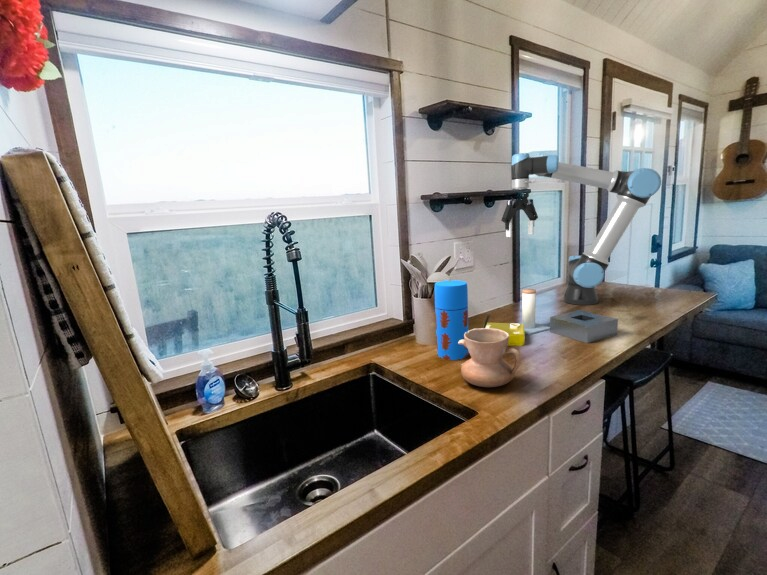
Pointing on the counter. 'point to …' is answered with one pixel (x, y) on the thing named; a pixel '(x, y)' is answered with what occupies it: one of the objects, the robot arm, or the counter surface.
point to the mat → (535, 329)
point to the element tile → (511, 332)
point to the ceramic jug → (488, 358)
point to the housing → (583, 326)
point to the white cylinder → (528, 308)
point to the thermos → (451, 318)
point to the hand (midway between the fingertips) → (519, 235)
